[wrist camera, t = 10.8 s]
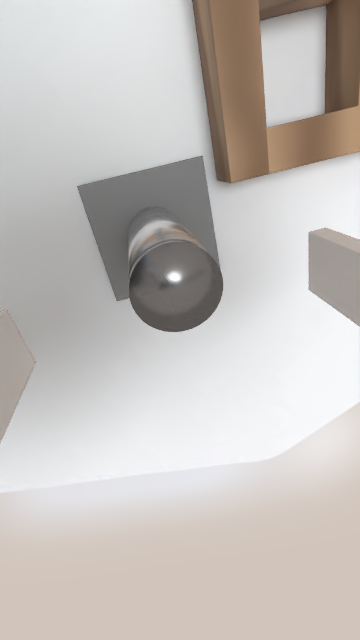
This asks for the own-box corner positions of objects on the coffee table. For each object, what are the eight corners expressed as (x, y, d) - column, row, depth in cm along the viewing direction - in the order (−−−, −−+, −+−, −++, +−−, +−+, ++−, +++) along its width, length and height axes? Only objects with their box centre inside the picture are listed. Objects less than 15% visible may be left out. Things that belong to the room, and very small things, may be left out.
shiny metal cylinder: (137, 267, 27) (143, 341, 16) (121, 214, 25) (115, 257, 14) (187, 254, 27) (229, 318, 16) (175, 200, 25) (215, 231, 14)
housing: (217, 180, 25) (231, 183, 22) (189, -23, 19) (201, -63, 16) (379, 140, 25) (419, 136, 22) (398, -71, 20) (456, -121, 16)
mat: (117, 299, 29) (116, 301, 28) (78, 186, 24) (77, 186, 24) (219, 273, 29) (220, 274, 29) (201, 156, 24) (202, 155, 24)
